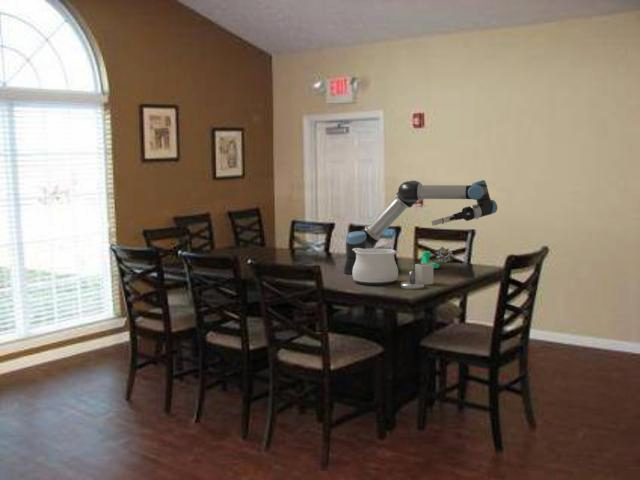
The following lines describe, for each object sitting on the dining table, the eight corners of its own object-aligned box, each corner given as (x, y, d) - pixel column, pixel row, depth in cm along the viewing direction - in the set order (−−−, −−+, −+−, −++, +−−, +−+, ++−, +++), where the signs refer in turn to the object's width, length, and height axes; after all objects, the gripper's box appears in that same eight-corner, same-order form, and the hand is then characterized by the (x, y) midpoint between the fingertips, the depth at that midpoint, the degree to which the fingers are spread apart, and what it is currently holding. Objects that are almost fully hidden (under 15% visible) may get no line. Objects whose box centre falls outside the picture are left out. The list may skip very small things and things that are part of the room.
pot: (410, 281, 385) (410, 249, 383) (382, 288, 367) (382, 254, 365) (368, 276, 404) (368, 245, 402) (340, 282, 386) (339, 250, 384)
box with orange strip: (421, 284, 375) (421, 264, 374) (414, 282, 381) (414, 263, 380) (433, 283, 377) (433, 263, 376) (426, 281, 384) (426, 262, 383)
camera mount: (439, 269, 428) (439, 252, 427) (427, 269, 427) (427, 252, 426) (432, 266, 440) (432, 249, 439) (420, 267, 439) (420, 250, 437)
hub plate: (407, 290, 360) (407, 274, 359) (396, 286, 371) (396, 271, 370) (428, 288, 365) (428, 272, 364) (416, 284, 376) (416, 269, 375)
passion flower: (444, 271, 455) (436, 256, 450) (437, 265, 465) (428, 251, 460) (459, 260, 456) (450, 246, 451) (451, 255, 466) (442, 241, 461)
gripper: (485, 216, 384) (451, 226, 377) (461, 221, 408) (429, 231, 401) (481, 203, 384) (447, 212, 377) (458, 209, 408) (425, 218, 401)
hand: (437, 222), depth 389 cm, fingers open, 13 cm apart
